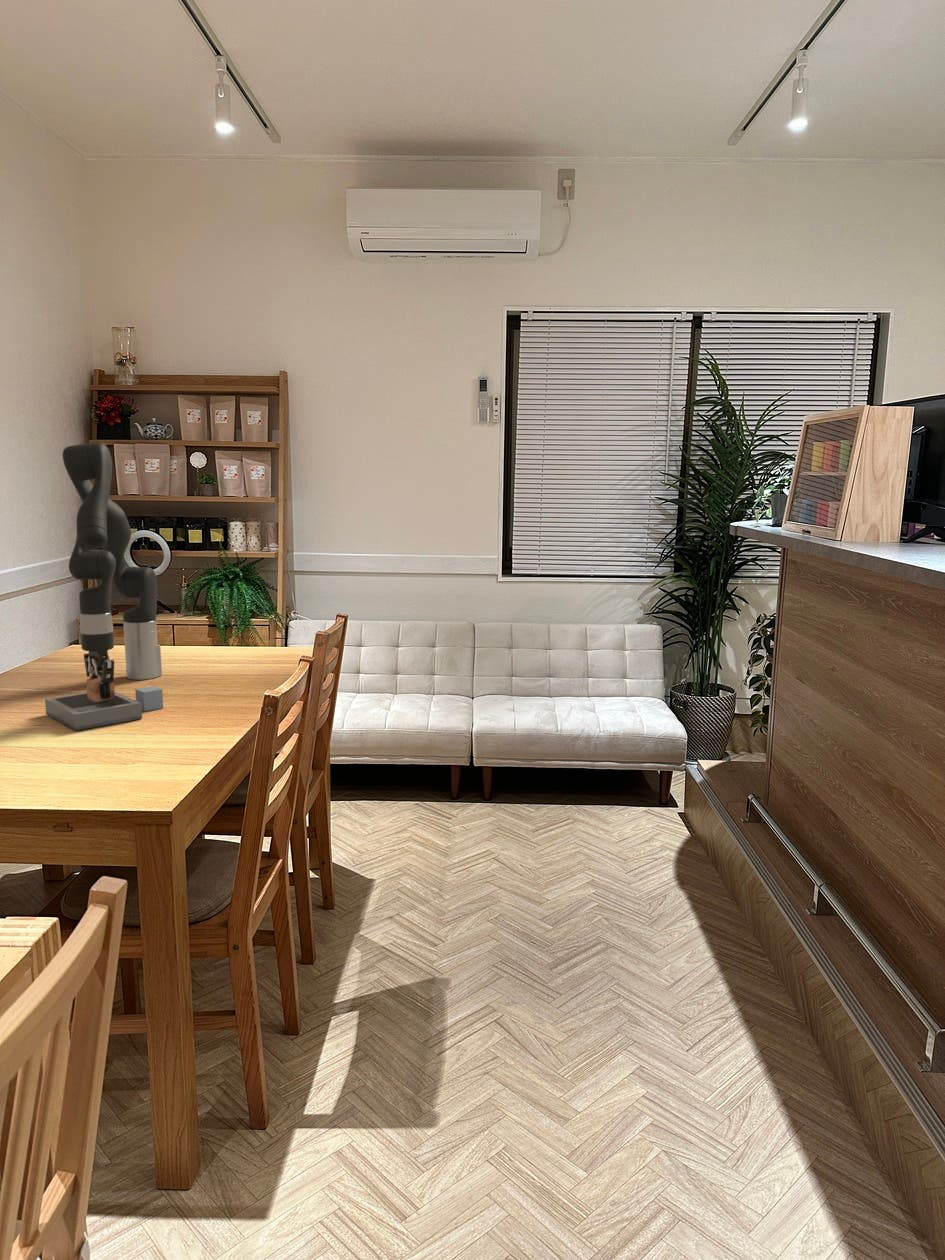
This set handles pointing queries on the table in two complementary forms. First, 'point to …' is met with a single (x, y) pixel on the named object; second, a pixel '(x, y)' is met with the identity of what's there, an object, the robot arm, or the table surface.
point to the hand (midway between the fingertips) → (101, 696)
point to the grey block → (149, 698)
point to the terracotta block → (97, 690)
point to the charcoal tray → (92, 710)
